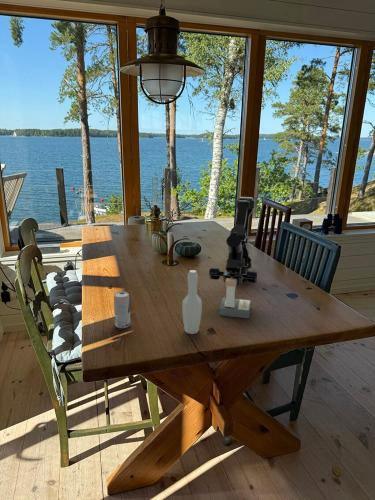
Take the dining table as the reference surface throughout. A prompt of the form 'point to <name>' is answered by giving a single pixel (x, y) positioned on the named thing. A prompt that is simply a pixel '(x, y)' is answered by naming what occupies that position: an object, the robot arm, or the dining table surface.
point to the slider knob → (230, 292)
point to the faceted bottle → (192, 305)
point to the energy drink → (122, 309)
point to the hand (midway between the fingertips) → (230, 295)
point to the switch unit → (236, 308)
